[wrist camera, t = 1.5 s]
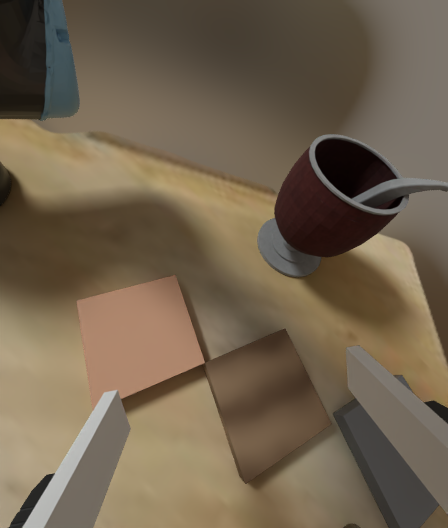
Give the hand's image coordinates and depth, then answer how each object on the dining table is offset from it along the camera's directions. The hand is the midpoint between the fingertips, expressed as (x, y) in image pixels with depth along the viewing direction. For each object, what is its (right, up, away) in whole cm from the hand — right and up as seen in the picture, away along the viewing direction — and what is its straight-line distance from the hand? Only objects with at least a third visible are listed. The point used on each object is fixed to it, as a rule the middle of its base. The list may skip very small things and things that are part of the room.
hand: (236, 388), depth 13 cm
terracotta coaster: (-11, -2, +15) cm, 19 cm away
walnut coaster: (+4, -9, +16) cm, 19 cm away
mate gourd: (+12, +10, +28) cm, 32 cm away
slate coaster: (+21, -16, +17) cm, 31 cm away
